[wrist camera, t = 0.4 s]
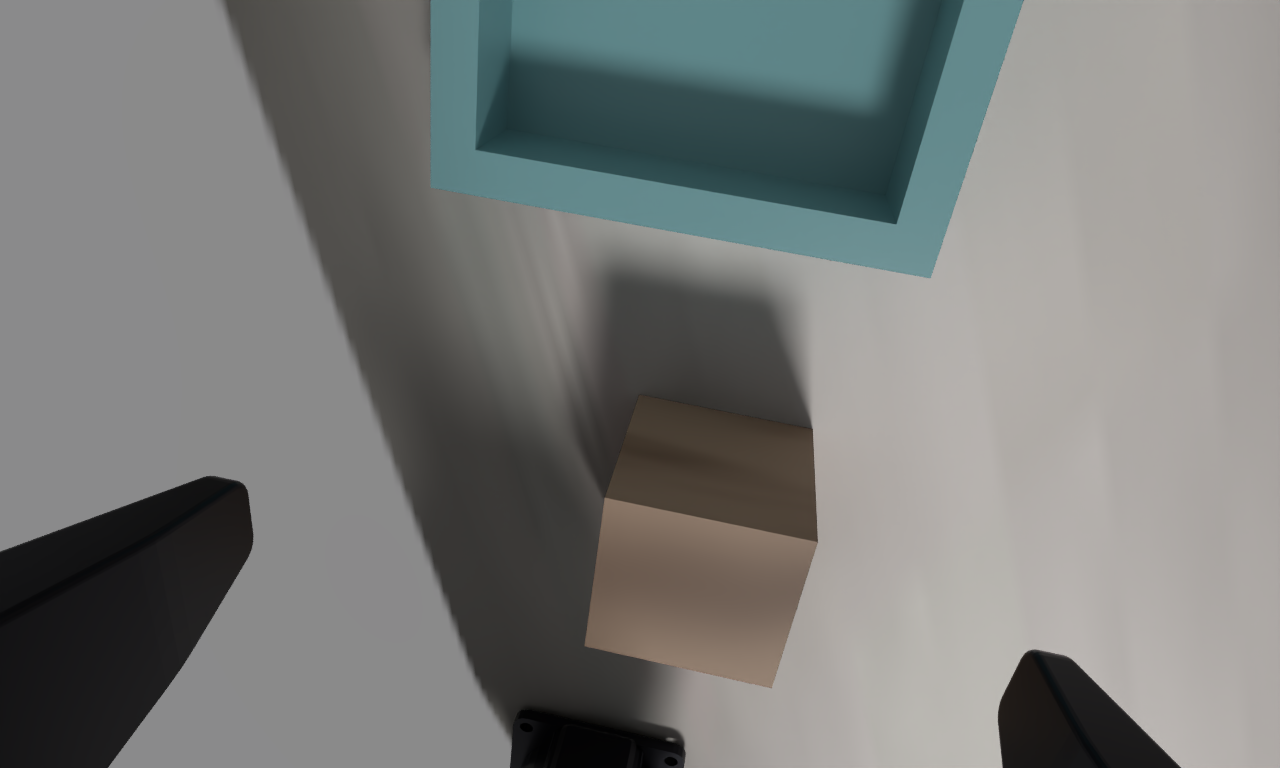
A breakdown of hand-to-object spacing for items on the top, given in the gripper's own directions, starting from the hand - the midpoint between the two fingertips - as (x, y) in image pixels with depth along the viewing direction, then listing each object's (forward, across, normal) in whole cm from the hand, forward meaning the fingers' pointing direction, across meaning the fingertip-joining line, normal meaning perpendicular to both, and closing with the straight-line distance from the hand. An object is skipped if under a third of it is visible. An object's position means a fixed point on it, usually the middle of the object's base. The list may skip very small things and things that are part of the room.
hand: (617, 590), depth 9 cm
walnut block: (+13, -1, +7) cm, 15 cm away
